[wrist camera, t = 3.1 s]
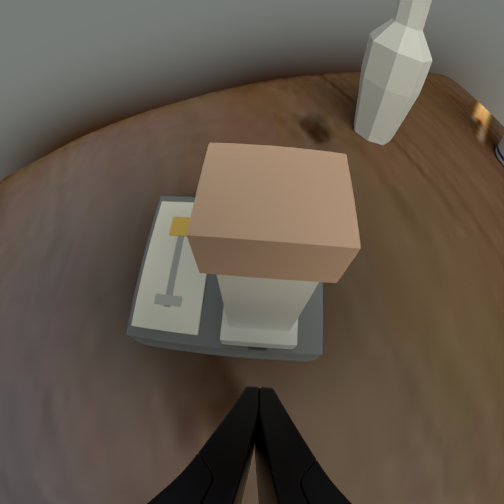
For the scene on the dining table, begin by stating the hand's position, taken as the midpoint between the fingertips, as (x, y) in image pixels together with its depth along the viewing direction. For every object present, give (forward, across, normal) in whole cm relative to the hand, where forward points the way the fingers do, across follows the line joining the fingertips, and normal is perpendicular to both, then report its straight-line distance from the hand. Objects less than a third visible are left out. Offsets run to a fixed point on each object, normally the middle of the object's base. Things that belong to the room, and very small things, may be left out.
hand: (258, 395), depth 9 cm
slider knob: (+7, 0, +1) cm, 7 cm away
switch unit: (+12, +2, +1) cm, 12 cm away
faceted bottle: (+26, -11, -12) cm, 30 cm away
